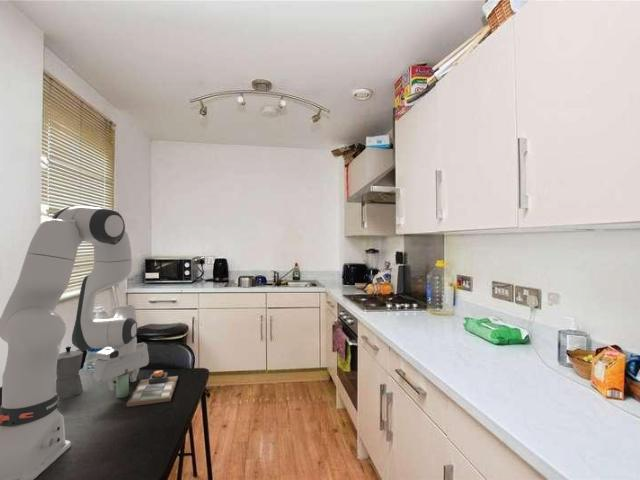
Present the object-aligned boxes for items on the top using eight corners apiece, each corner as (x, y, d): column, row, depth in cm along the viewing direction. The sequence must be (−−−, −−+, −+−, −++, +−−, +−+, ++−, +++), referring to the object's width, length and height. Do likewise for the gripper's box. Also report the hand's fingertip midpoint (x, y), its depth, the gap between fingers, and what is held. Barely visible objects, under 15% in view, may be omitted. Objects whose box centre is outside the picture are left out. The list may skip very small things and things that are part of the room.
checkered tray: (170, 401, 120) (170, 391, 120) (126, 406, 116) (126, 397, 116) (177, 378, 141) (177, 371, 141) (141, 383, 137) (141, 375, 137)
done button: (162, 377, 135) (162, 372, 135) (152, 379, 134) (152, 373, 134) (163, 374, 138) (163, 369, 138) (154, 375, 137) (154, 370, 137)
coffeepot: (64, 402, 120) (64, 352, 121) (40, 401, 121) (40, 351, 122) (97, 385, 135) (97, 340, 136) (75, 384, 136) (75, 340, 137)
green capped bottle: (127, 397, 124) (127, 369, 124) (114, 398, 123) (114, 371, 123) (130, 392, 128) (130, 366, 128) (117, 394, 127) (117, 367, 127)
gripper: (141, 340, 137) (141, 374, 136) (90, 355, 118) (90, 394, 117) (152, 341, 134) (152, 376, 134) (102, 357, 115) (102, 397, 115)
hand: (123, 385), depth 126 cm, fingers open, 7 cm apart
